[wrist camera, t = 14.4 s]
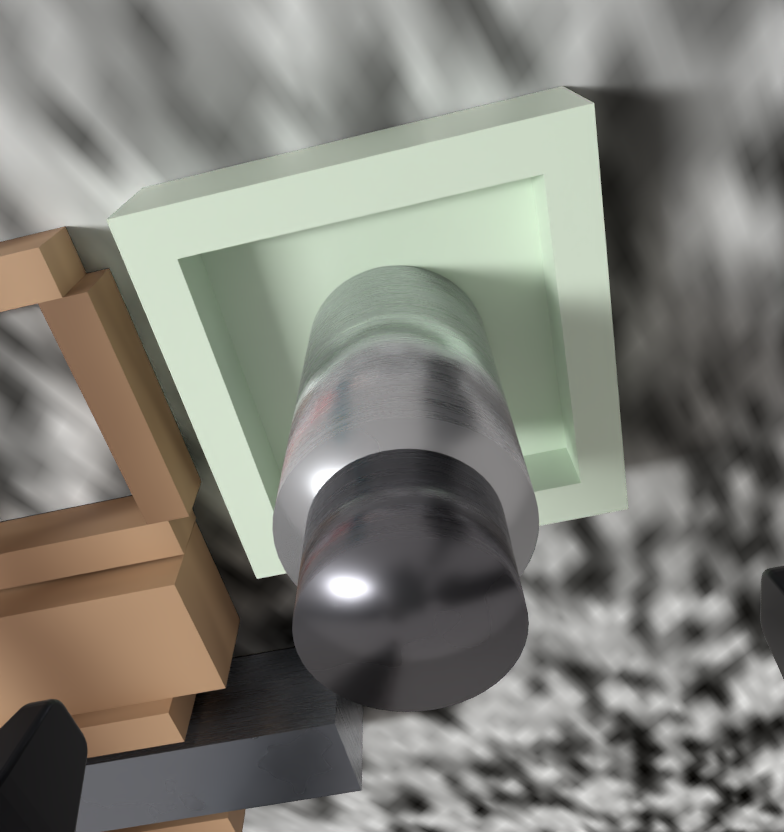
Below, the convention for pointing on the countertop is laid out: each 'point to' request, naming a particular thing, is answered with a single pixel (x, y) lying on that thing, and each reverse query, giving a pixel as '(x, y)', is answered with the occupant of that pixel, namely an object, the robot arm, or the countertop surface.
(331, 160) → the tray
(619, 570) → the countertop surface
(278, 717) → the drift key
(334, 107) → the countertop surface
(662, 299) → the countertop surface
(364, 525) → the cylinder
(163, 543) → the brown flat open-framed piece
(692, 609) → the countertop surface
